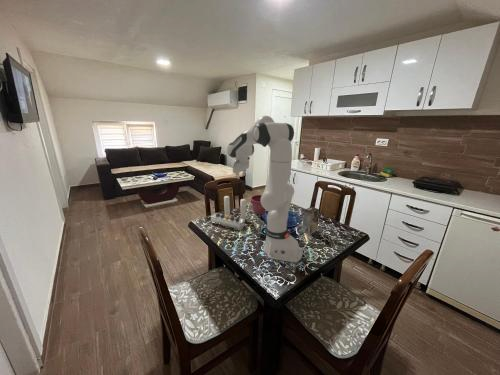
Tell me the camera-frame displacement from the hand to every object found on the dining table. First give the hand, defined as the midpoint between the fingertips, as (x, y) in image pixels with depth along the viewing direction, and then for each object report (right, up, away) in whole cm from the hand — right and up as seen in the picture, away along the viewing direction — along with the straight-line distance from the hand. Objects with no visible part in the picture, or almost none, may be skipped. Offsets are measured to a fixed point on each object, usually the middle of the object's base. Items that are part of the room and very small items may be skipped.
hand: (241, 176), depth 160 cm
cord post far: (-11, -31, +4) cm, 33 cm away
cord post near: (+2, -33, -2) cm, 33 cm away
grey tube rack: (-9, -35, -9) cm, 37 cm away
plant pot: (+14, -29, +10) cm, 34 cm away
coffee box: (+47, -38, -17) cm, 63 cm away
